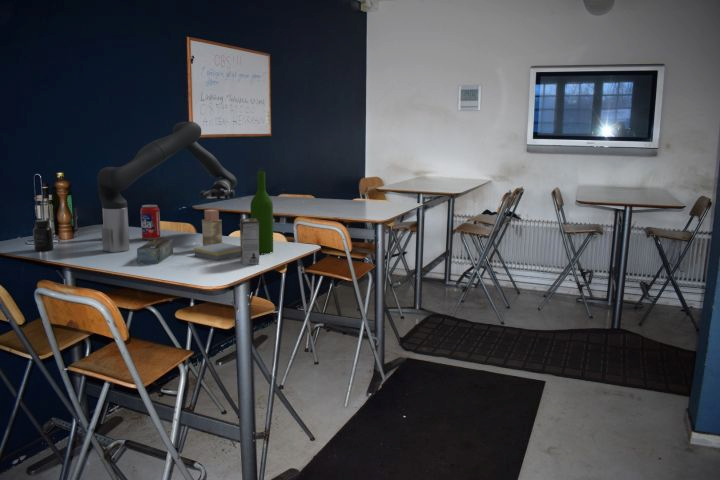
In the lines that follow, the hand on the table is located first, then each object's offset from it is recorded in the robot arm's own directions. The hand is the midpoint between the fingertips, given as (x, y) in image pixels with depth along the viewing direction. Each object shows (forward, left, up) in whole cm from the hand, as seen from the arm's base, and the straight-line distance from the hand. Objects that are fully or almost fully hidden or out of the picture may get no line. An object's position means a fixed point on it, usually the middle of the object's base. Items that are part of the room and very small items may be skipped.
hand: (215, 197), depth 248 cm
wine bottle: (+2, -26, -20) cm, 33 cm away
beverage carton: (-33, -4, -21) cm, 39 cm away
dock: (-13, -18, -20) cm, 30 cm away
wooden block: (-7, -6, -20) cm, 22 cm away
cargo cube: (-7, -6, -8) cm, 13 cm away
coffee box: (-14, -36, -21) cm, 44 cm away
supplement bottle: (-53, +41, -20) cm, 70 cm away
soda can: (-11, +31, -20) cm, 39 cm away
